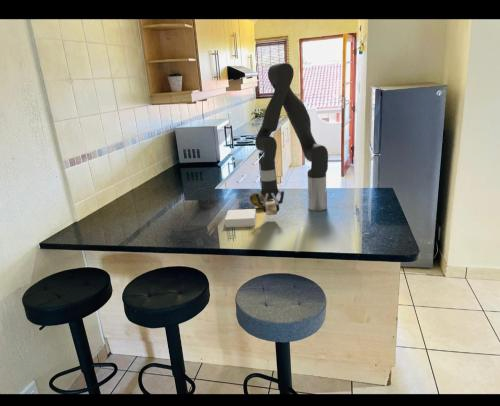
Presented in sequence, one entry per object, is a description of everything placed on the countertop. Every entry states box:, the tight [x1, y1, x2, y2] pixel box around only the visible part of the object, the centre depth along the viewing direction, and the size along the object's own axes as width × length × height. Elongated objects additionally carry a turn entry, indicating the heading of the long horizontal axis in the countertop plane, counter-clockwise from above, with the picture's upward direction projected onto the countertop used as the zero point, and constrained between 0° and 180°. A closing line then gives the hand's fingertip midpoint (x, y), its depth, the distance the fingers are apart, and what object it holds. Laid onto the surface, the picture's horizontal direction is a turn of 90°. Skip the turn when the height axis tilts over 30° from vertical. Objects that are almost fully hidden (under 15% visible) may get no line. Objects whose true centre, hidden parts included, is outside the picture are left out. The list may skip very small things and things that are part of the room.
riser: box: [224, 208, 257, 228], centre depth 185 cm, size 14×13×4 cm
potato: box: [249, 192, 274, 210], centre depth 201 cm, size 8×13×8 cm, turn 53°
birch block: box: [265, 200, 278, 216], centre depth 182 cm, size 5×5×5 cm
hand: (271, 211), depth 182 cm, fingers closed on birch block, 5 cm apart
